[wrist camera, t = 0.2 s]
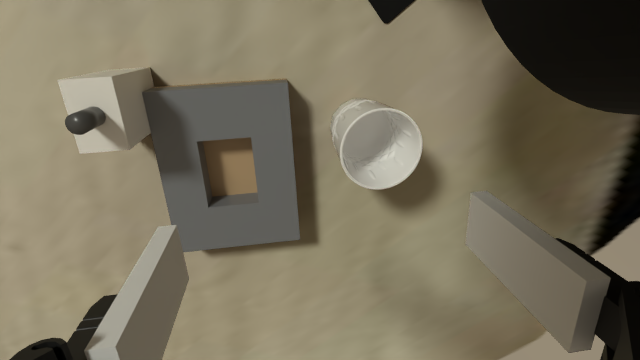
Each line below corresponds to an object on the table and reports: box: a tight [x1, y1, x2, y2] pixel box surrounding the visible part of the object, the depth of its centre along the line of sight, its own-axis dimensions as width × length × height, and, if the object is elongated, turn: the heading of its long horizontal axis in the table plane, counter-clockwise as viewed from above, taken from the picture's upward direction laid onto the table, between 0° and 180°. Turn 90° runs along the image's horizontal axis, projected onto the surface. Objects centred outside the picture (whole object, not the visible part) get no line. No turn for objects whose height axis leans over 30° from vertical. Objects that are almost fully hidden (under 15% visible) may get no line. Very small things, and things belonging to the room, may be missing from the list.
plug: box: [58, 67, 154, 154], centre depth 33 cm, size 6×4×13 cm, turn 3°
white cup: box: [330, 98, 423, 190], centre depth 39 cm, size 8×8×10 cm
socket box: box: [142, 79, 300, 252], centre depth 41 cm, size 18×14×4 cm
